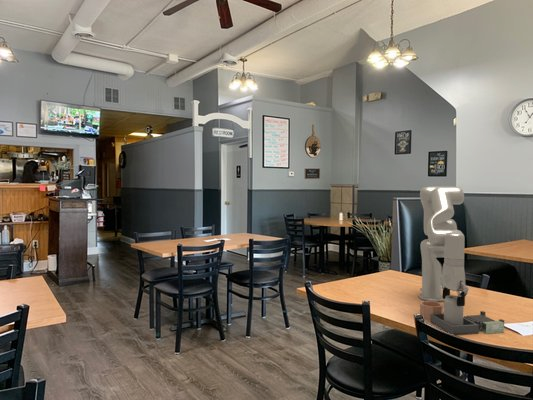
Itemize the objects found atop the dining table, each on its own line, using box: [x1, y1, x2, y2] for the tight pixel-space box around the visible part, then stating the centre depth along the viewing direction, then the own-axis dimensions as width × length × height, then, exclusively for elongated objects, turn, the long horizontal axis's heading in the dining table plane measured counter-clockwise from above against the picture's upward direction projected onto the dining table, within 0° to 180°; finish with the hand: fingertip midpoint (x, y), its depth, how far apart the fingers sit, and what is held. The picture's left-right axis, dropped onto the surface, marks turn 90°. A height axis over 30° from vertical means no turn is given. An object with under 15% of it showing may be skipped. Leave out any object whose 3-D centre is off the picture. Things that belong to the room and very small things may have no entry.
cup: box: [419, 300, 444, 321], centre depth 179 cm, size 9×9×6 cm
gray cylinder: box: [443, 294, 464, 326], centre depth 166 cm, size 8×8×12 cm
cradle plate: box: [463, 314, 496, 328], centre depth 168 cm, size 9×9×2 cm
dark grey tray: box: [429, 312, 480, 336], centre depth 166 cm, size 16×12×4 cm
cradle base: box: [475, 310, 505, 335], centre depth 166 cm, size 15×12×4 cm
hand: (453, 302), depth 166 cm, fingers open, 9 cm apart
